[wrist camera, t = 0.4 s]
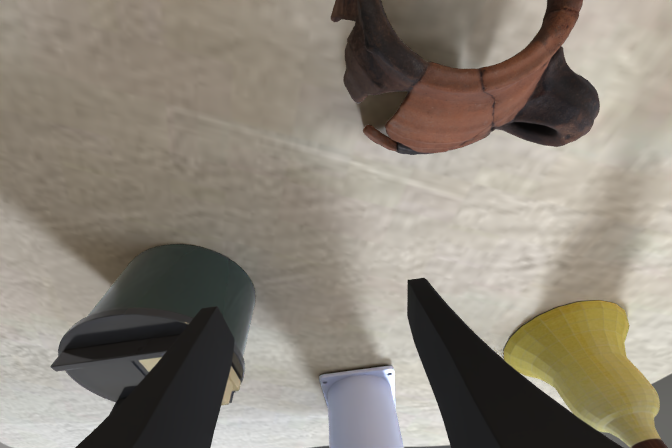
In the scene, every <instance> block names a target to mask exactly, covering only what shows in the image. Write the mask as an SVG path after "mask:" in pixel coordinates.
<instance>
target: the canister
mask: <svg viewBox="0 0 672 448" xmlns="http://www.w3.org/2000/svg"><path fill="white" fill-rule="evenodd" d="M255 300H256V294H255V289H254V286H253V283H252V281H251V279H250V278H249V276H248V275H247V274H246V272H245V271H244V270H243V269H242V268H241V267H240V266H238V265H237V264H236V263H235V262H233V261H232V260H230V259H229V258H227V257H225V256H223V255H222V254H219V253H217V252H215V251H212V250H209V249H206V248H203V247H198V246H193V245H184V244H171V245H163V246H158V247H154V248H151V249H148V250H146V251H144V252H142V253H140V254H139V255H138V256H136V257H135V258H134V259H133V260H132V261H131V262H130V263H129V265H128V266H127V267H126V268H125V270H124V271H123V272H122V273H121V275H120V276H119V277H118V278H117V280H116V281H115V282H114V283H113V285H112V286H111V287H110V288H109V290H108V291H107V292H106V293H105V295H104V296H103V297H102V298H101V300H100V301H99V302H98V303H97V305H96V306H95V307H94V308H93V310H92V311H91V312H90V313H89V315H88V316H87V317H85V318H83V319H81V320H80V321H78V322H77V323H75V324H74V325H73V326H72V327H71V328H70V329H69V330H68V331H67V333H66V334H65V335H64V336H63V338H62V340H61V342H60V345H59V349H58V358H57V359H56V360H55V361H54V363H53V364H52V365H51V368H52V369H53V370H55V371H63V370H65V371H66V372H67V373H68V375H69V376H70V377H71V378H72V379H73V380H75V381H76V382H77V383H78V384H80V385H81V386H82V387H84V388H86V389H87V390H89V391H91V392H93V393H95V394H97V395H99V396H101V397H103V398H106V399H108V400H111V401H114V402H116V403H115V405H114V407H113V409H112V411H111V413H112V412H113V411H114V410H115V409H116V408H117V407H118V406H119V405H120V404H121V403H122V402H123V401H124V400H125V399H126V397H127V396H128V395H129V394H130V393H131V392H132V391H133V390H134V389H135V388H136V386H137V385H138V384H139V383H140V382H141V381H142V380H143V379H144V377H145V376H146V375H147V374H148V373H149V372H148V371H147V369H146V368H145V367H144V366H143V365H142V364H141V363H140V362H139V361H138V360H145V359H152V358H160V357H163V355H164V354H165V353H166V352H167V350H168V349H169V348H170V347H171V346H172V344H173V343H174V342H175V341H176V339H177V338H178V337H179V336H180V334H181V333H182V332H183V331H184V329H185V328H186V327H187V326H188V324H189V323H190V322H191V321H192V319H193V318H194V317H195V316H196V315H197V313H198V312H199V311H200V310H201V309H202V308H207V307H215V306H218V308H219V310H220V312H221V314H222V316H223V318H224V319H225V321H226V323H227V325H228V327H229V329H230V331H231V333H232V335H233V337H234V338H235V343H234V351H233V358H232V365H231V366H232V368H233V369H234V371H235V373H236V374H237V376H238V378H239V379H240V381H241V383H242V380H243V377H244V372H245V363H244V358H243V355H244V351H245V346H246V342H247V337H248V333H249V328H250V324H251V319H252V315H253V310H254V306H255ZM240 385H241V384H240ZM234 392H235V391H232V393H231V397H230V401H229V403H231V402H232V398H233V394H234ZM111 413H110V414H111Z"/></svg>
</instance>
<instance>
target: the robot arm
mask: <svg viewBox="0 0 672 448" xmlns="http://www.w3.org/2000/svg"><path fill="white" fill-rule="evenodd" d="M407 316H408V320H409V324H410V328H411V332H412V336H413V339H414V343H415V345H416V348H417V351H418V353H419V356H420V359H421V361H422V364H423V367H424V369H425V372H426V374H427V377H428V380H429V382H430V385H431V387H432V390H433V393H434V395H435V398H436V401H437V403H438V406H439V409H440V412H441V415H442V418H443V421H444V424H445V428H446V431H447V435H448V438H449V442H450V445H451V448H623V447H621V446H620V445H618V444H617V443H615V442H613V441H612V440H610V439H609V438H607V437H606V436H604V435H603V434H602V433H600V432H599V431H597V430H596V429H594V428H593V427H591V426H590V425H588V424H587V423H586V422H584V421H583V420H581V419H580V418H578V417H577V416H575V415H574V414H573V413H571V412H570V411H569V410H567V409H566V408H565V407H563V406H562V405H560V404H559V403H558V402H556V401H555V400H554V399H552V398H551V397H550V396H548V395H547V394H545V393H544V392H543V391H541V390H540V389H539V388H537V387H536V386H535V385H534V384H532V383H531V382H530V381H529V380H527V379H526V378H525V377H524V376H522V375H521V374H520V373H519V372H518V371H516V370H515V369H514V368H513V367H512V366H510V365H509V364H508V363H507V362H506V361H504V360H503V359H502V358H501V357H500V356H499V355H498V354H497V353H495V352H494V351H493V350H492V349H491V348H490V347H489V346H488V345H487V344H486V343H485V342H484V341H483V340H481V339H480V338H479V337H478V336H477V335H476V334H475V333H474V332H473V331H472V330H471V329H470V328H469V327H468V326H467V325H466V324H465V323H464V322H463V321H462V319H461V318H460V317H459V316H458V315H457V314H456V313H455V312H454V311H453V310H452V309H451V308H450V307H449V306H448V304H447V303H446V302H445V301H444V300H443V299H442V298H441V296H440V295H439V294H438V293H437V292H436V291H435V289H434V288H433V287H432V286H431V284H430V283H429V282H428V281H427V280H426V279H425V278H419V279H412V280H408V307H407ZM234 343H235V338H234V337H233V335H232V333H231V331H230V329H229V327H228V325H227V323H226V321H225V319H224V318H223V316H222V314H221V312H220V310H219V308H218V306H215V307H207V308H202V309H201V310H200V311H199V312H198V313H197V315H196V316H195V317H194V318H193V319H192V321H191V322H190V323H189V324H188V326H187V327H186V328H185V329H184V331H183V332H182V333H181V334H180V336H179V337H178V338H177V339H176V341H175V342H174V343H173V344H172V346H171V347H170V348H169V349H168V350H167V352H166V353H165V354H164V355H163V357H162V358H161V359H160V360H159V361H158V363H157V364H156V365H155V366H154V367H153V368H152V369H151V371H150V372H149V373H148V374H147V375H146V376H145V377H144V379H143V380H142V381H141V382H140V383H139V384H138V385H137V386H136V388H135V389H134V390H133V391H132V392H131V393H130V394H129V395H128V396H127V397H126V399H125V400H124V401H123V402H122V403H121V404H120V405H119V406H118V407H117V408H116V409H115V410H114V411H113V412H112V413H111V414H110V415H109V416H108V417H107V418H106V419H105V420H104V421H103V422H102V423H101V424H100V425H99V426H98V427H97V428H96V429H95V430H94V431H93V432H92V433H91V434H90V435H89V436H87V437H86V438H85V439H84V440H83V441H82V442H81V443H80V444H79V445H78V446H77V447H76V448H210V447H211V442H212V438H213V434H214V430H215V426H216V422H217V419H218V415H219V411H220V407H221V404H222V400H223V396H224V393H225V389H226V385H227V381H228V377H229V373H230V369H231V365H232V358H233V351H234ZM319 381H320V384H321V387H322V390H323V394H324V397H325V400H326V403H327V406H328V417H329V446H330V448H404V446H403V441H402V436H401V432H400V427H399V422H398V418H397V413H396V408H395V384H394V368H393V367H392V366H382V367H375V368H367V369H360V370H352V371H344V372H337V373H329V374H322V375H320V376H319Z"/></svg>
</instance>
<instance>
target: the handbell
mask: <svg viewBox="0 0 672 448" xmlns="http://www.w3.org/2000/svg"><path fill="white" fill-rule="evenodd" d="M628 329H629V323H628V319H627V316H626V313H625V310H624V309H622V308H621V307H619V306H618V305H617V304H615V303H611V302H606V301H601V300H596V301H581V302H576V303H572V304H568V305H564V306H561V307H557V308H555V309H553V310H550V311H548V312H546V313H544V314H541V315H539V316H537V317H536V318H534V319H533V320H531V321H530V322H528V323H526V324H525V325H523V326H522V327H521V328H520V329H519V330H518V331H517V332H516V333H515V334H514V335H513V336H512V337H511V338H510V339H509V341H508V343H507V345H506V347H505V349H504V360H505V361H506V362H507V363H508V364H509V365H510V366H512V367H513V368H514V369H515V370H516V371H518V372H519V373H521V374H523V375H526V376H530V377H534V378H538V379H541V380H543V381H545V382H546V383H548V384H550V385H551V386H553V387H554V388H556V390H557V391H558V393H559V394H560V396H561V397H562V399H563V400H564V402H565V403H566V405H567V406H568V407H569V409H570V410H571V411H572V413H573V414H574V415H575V416H577V417H578V418H580V419H581V420H583V421H584V422H586V423H587V424H588V425H590V426H591V427H593V428H594V429H596V430H597V431H600V432H609V433H611V434H613V435H614V436H616V437H618V438H620V439H621V440H622V441H623V442H624V443H626V444H627V445H628V446H629V447H630V448H668V447H667V446H666V445H665V444H664V442H663V441H662V440H661V439H660V437H659V435H658V433H657V431H656V429H655V426H654V417H655V416H656V415H657V413H658V412H659V408H660V407H659V406H660V405H659V404H660V403H659V397H658V394H657V392H656V390H655V389H654V387H653V386H652V385H651V384H650V383H649V381H648V380H647V379H646V378H645V377H644V375H643V374H642V373H641V372H640V371H639V370H638V369H637V368H636V367H635V366H634V365H633V364H632V363H631V362H630V361H629V360H628V359H627V357H626V352H625V345H624V342H625V339H626V336H627V332H628Z"/></svg>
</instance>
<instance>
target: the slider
mask: <svg viewBox="0 0 672 448" xmlns="http://www.w3.org/2000/svg"><path fill="white" fill-rule="evenodd" d="M161 358H162V357H160V358H152V359H145V360H138V361H139V362H140V363H141V364H142V365H143V366H144V367H145V368H146V369H147V371H148V372H150V371H151V369H152V368H153V367H154V366H155V365H156V364H157V363H158V361H159V360H160V359H161ZM240 384H241V381H240V379H239V378H238V376H237V374H236V373H235V371H234V369H233V368H232V366H231V369H230V373H229V377H228V381H227V385H226V389H225V393H224V396H223V400H222V404H221V405H228V404H229V401H230V397H231V393H232V391H238V390H239V389H240Z"/></svg>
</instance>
